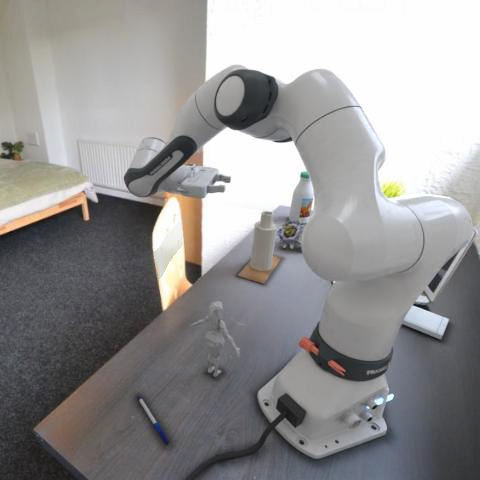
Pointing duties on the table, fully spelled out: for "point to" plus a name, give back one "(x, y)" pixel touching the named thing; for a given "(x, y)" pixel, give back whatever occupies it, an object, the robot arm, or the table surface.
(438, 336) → the hard drive
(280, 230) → the passion flower
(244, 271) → the tan flat rectangular board
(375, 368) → the robot arm
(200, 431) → the table surface
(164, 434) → the ballpoint pen
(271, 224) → the bottle
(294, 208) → the milk bottle
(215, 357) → the human figurine
